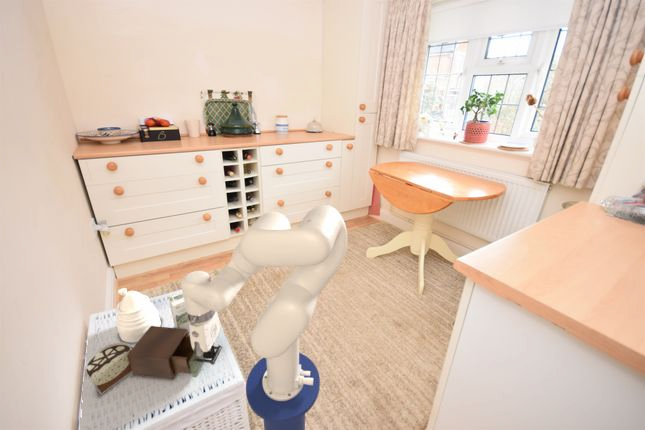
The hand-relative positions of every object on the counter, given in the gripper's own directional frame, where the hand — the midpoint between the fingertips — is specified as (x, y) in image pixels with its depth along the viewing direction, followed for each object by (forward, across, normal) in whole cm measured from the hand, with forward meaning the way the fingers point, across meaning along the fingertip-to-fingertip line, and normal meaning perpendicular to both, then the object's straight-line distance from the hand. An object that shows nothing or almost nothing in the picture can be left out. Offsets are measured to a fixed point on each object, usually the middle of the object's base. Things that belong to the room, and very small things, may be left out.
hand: (209, 356), depth 92 cm
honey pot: (+4, +12, +32) cm, 34 cm away
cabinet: (+4, 0, +16) cm, 16 cm away
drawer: (+3, 0, +5) cm, 6 cm away
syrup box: (+4, +14, +16) cm, 21 cm away
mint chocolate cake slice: (+4, -7, +28) cm, 29 cm away
